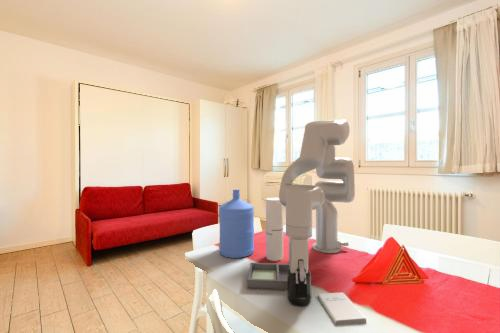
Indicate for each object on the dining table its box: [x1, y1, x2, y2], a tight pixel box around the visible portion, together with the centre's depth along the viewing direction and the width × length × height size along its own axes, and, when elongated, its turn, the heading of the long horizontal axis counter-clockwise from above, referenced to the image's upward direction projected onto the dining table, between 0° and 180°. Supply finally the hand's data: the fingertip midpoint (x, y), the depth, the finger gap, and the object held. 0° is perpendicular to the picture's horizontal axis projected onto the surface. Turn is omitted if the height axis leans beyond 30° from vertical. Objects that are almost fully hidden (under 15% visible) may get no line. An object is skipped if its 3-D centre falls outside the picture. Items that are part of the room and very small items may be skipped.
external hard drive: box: [317, 292, 367, 325], centre depth 69 cm, size 2×8×12 cm
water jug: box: [218, 189, 255, 259], centre depth 110 cm, size 16×16×28 cm
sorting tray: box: [246, 262, 290, 291], centre depth 85 cm, size 20×13×3 cm, turn 85°
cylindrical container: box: [265, 197, 284, 262], centre depth 104 cm, size 7×7×25 cm
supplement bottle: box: [286, 268, 312, 307], centre depth 72 cm, size 7×7×12 cm
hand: (299, 287), depth 73 cm, fingers open, 9 cm apart
